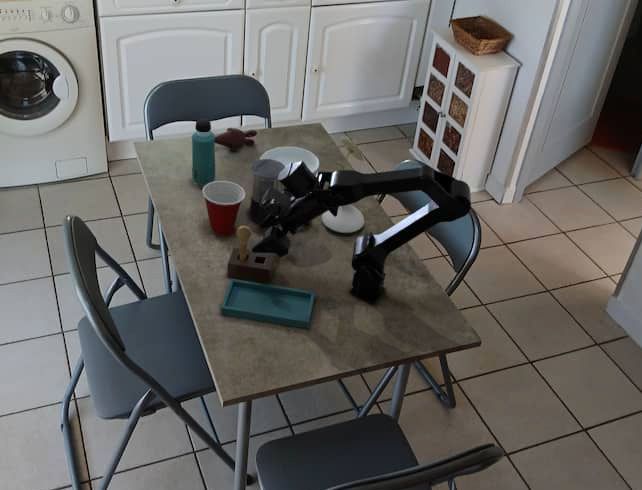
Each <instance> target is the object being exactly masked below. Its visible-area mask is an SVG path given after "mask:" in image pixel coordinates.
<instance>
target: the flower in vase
mask: <svg viewBox="0 0 642 490" xmlns="http://www.w3.org/2000/svg"><path fill="white" fill-rule="evenodd" d="M340 139H341V143H342V144H343V146H344V147H345V149H346V150H347V154H346V157H345V159H344V162H343V164H342V163H341V161H339V160H338V161H336V164H337V165H339V166H340V167H341V170H346V162H347V160H348V158H349V155H350V154H351V155H352V157H354V158H355V159H357V160H358V161H362V162H364V160H365V159H364V158H365V154H364V153H363V149H362V148H360V147H359V146H358V145H356V141H355V140H351V139H350V138H349V136H348V135H346V136H344V135H343V136H341V138H340ZM321 221H322V223H323V224H324V225H325V226H326V227H327V229H329V230H331V231H333V232H336V233H340V234H351V233H355V232H357V231H359V230H360V229H362V228H363V226H364V225H365V217H364V215H363V214H362V212H361V211H360V210H359V209H358V208H356V207H355V206H354V205H353V204H349V205H345V206H339V208H338V213H337V216H336V217H334V216H333V215H332V214H331V212H330V211H329V210H328V211H327V212H325V213H323V214H322V215H321Z"/></svg>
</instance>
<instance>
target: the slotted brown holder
mask: <svg viewBox="0 0 642 490" xmlns="http://www.w3.org/2000/svg"><path fill="white" fill-rule="evenodd" d="M275 256H276V253H253V252H252V251H251V249H247V254H246V261H242V260H240V247H233V248H232V251H231V253H230V256H229V259H228V262H227V278H230V279H237V280H243V281H249V282H255V283H261V284H267V285H270V282H271V279H272V276H273V272H274V268H275V258H276V257H275Z"/></svg>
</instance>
